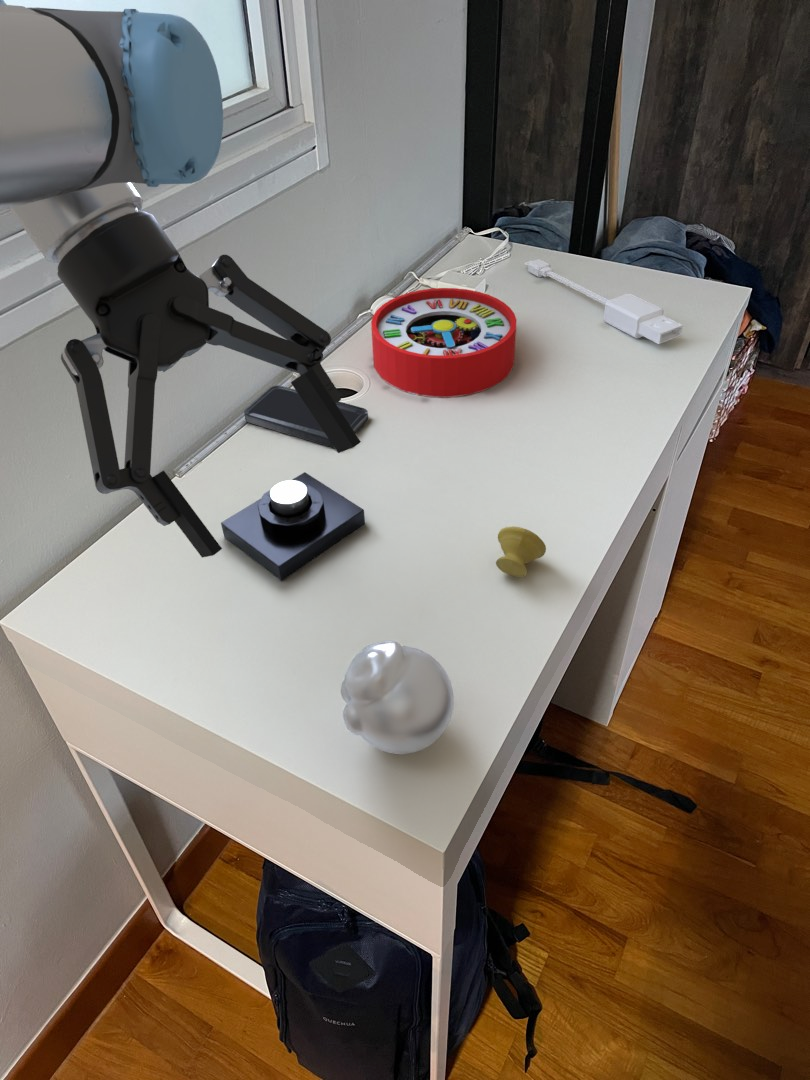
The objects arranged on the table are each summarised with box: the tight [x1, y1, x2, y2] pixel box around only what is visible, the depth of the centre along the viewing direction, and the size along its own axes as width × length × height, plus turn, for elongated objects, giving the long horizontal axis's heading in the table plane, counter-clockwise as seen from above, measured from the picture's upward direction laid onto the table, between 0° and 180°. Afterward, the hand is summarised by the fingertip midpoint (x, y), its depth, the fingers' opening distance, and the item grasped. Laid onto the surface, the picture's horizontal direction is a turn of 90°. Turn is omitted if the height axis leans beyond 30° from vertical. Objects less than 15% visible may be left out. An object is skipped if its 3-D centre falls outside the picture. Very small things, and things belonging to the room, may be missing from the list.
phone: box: [243, 385, 369, 449], centre depth 106 cm, size 8×1×15 cm
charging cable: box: [523, 258, 684, 345], centre depth 126 cm, size 5×32×3 cm, turn 31°
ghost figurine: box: [340, 640, 455, 755], centre depth 68 cm, size 9×10×10 cm
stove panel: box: [220, 472, 366, 582], centre depth 89 cm, size 12×10×4 cm
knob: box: [495, 526, 547, 578], centre depth 83 cm, size 5×5×5 cm
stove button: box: [269, 479, 310, 518], centre depth 87 cm, size 4×4×2 cm
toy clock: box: [370, 287, 517, 398], centre depth 114 cm, size 20×6×20 cm
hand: (284, 498), depth 60 cm, fingers open, 13 cm apart
